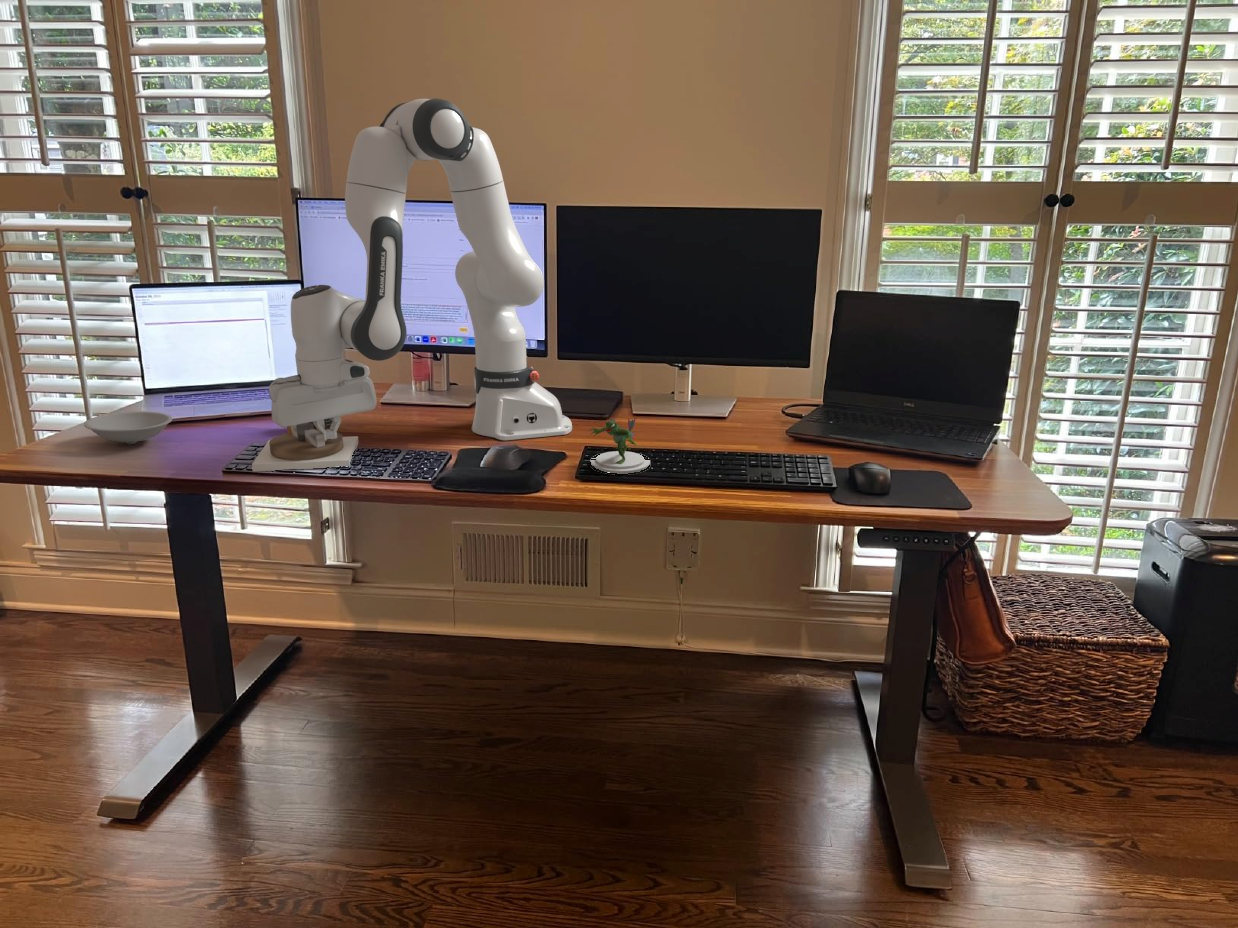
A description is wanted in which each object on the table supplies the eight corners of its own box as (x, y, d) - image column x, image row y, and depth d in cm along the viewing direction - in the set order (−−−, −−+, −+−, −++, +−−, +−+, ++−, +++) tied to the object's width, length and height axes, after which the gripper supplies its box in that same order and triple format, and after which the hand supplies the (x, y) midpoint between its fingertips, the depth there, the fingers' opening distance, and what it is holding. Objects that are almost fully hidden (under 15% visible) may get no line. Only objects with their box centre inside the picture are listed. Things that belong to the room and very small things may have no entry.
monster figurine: (577, 465, 175) (577, 415, 172) (617, 451, 184) (617, 404, 181) (623, 479, 168) (624, 427, 165) (662, 464, 177) (663, 414, 173)
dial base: (358, 443, 188) (355, 411, 185) (349, 467, 173) (346, 433, 171) (269, 446, 185) (265, 414, 183) (252, 471, 170) (248, 437, 168)
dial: (356, 449, 178) (353, 425, 177) (289, 464, 169) (286, 439, 167) (323, 434, 188) (321, 411, 186) (258, 448, 178) (255, 424, 177)
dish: (191, 436, 192) (188, 414, 190) (145, 456, 178) (141, 432, 177) (120, 430, 195) (116, 409, 193) (70, 450, 181) (65, 427, 180)
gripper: (273, 382, 162) (283, 454, 167) (376, 366, 175) (383, 432, 179) (261, 376, 166) (270, 446, 171) (362, 360, 179) (368, 426, 184)
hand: (329, 439), depth 175 cm, fingers closed
